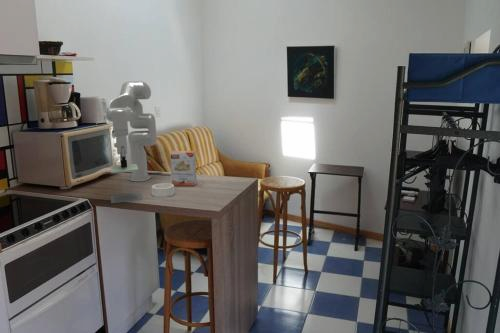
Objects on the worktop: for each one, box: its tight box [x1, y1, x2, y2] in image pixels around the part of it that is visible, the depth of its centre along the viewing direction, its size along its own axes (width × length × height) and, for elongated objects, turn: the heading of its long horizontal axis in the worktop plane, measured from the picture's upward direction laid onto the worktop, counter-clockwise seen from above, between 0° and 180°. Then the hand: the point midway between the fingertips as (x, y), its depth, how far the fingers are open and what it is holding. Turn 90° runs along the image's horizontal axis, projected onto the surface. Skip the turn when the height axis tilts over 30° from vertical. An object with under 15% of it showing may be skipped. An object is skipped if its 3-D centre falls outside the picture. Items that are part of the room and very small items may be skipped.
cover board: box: [109, 156, 139, 174], centre depth 223 cm, size 14×14×7 cm
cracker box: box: [170, 150, 197, 187], centre depth 251 cm, size 14×6×21 cm, turn 84°
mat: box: [110, 192, 143, 204], centre depth 227 cm, size 14×16×1 cm
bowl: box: [151, 182, 175, 198], centre depth 233 cm, size 12×12×5 cm
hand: (123, 166), depth 224 cm, fingers closed on cover board, 3 cm apart
